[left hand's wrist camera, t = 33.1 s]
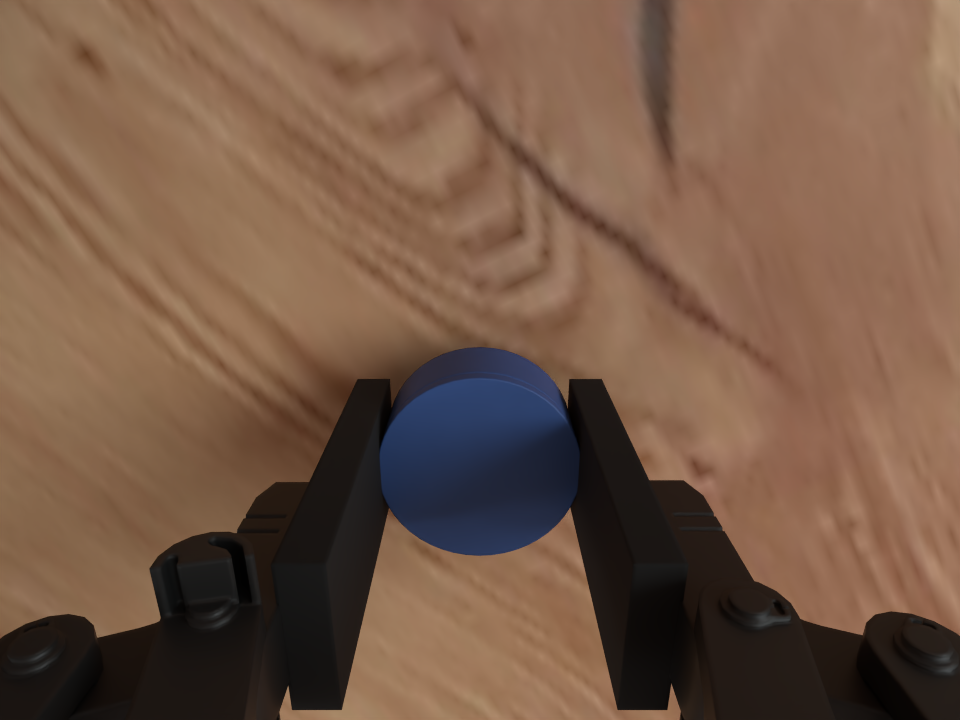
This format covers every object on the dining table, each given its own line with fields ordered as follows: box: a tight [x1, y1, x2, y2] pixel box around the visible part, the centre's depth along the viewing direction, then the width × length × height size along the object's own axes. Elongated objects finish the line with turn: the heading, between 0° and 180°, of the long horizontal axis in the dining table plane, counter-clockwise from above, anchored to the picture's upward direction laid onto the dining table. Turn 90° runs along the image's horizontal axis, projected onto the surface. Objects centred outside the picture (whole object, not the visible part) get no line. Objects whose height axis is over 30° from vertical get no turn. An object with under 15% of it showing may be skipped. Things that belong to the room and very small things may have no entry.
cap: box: [379, 347, 580, 556], centre depth 14 cm, size 4×4×2 cm
